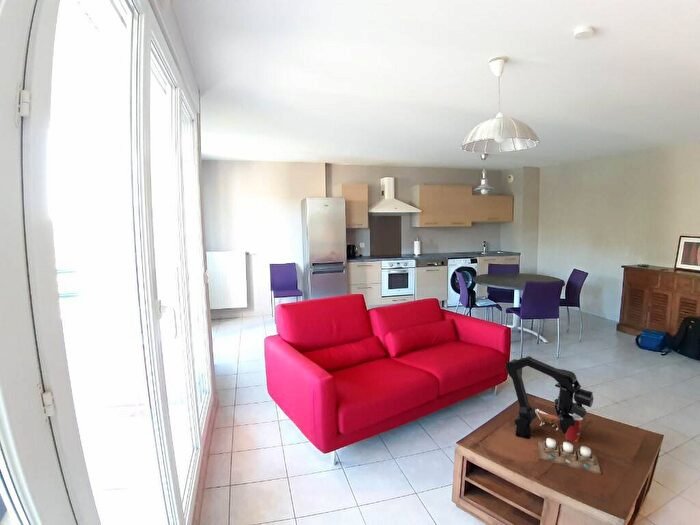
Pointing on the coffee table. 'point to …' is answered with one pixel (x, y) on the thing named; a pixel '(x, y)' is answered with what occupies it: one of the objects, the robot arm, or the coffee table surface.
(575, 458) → the board
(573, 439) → the paper cup
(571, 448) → the button mid
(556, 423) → the bull figurine
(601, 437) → the coffee table surface
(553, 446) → the button left
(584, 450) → the button right
